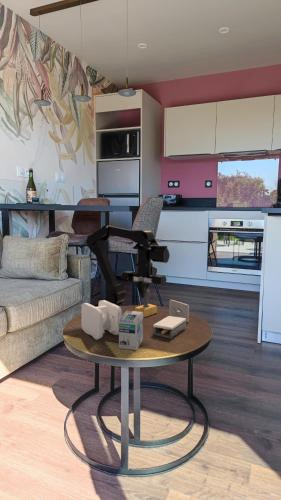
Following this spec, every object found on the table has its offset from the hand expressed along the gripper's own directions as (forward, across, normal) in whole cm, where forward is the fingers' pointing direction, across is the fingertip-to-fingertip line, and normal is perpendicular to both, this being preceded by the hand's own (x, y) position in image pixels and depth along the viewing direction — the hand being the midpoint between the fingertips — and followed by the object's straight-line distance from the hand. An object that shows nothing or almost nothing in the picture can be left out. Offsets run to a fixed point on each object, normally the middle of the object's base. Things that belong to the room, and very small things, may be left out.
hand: (142, 297), depth 138 cm
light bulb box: (+12, -7, +20) cm, 24 cm away
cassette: (+12, -9, -18) cm, 23 cm away
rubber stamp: (+12, +6, -15) cm, 21 cm away
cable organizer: (+12, +9, +17) cm, 23 cm away
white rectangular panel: (+9, -13, 0) cm, 16 cm away
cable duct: (+12, -13, 0) cm, 18 cm away
